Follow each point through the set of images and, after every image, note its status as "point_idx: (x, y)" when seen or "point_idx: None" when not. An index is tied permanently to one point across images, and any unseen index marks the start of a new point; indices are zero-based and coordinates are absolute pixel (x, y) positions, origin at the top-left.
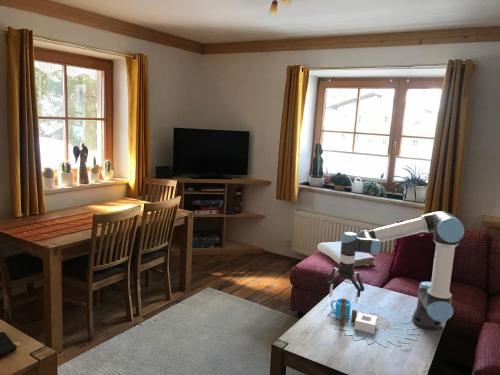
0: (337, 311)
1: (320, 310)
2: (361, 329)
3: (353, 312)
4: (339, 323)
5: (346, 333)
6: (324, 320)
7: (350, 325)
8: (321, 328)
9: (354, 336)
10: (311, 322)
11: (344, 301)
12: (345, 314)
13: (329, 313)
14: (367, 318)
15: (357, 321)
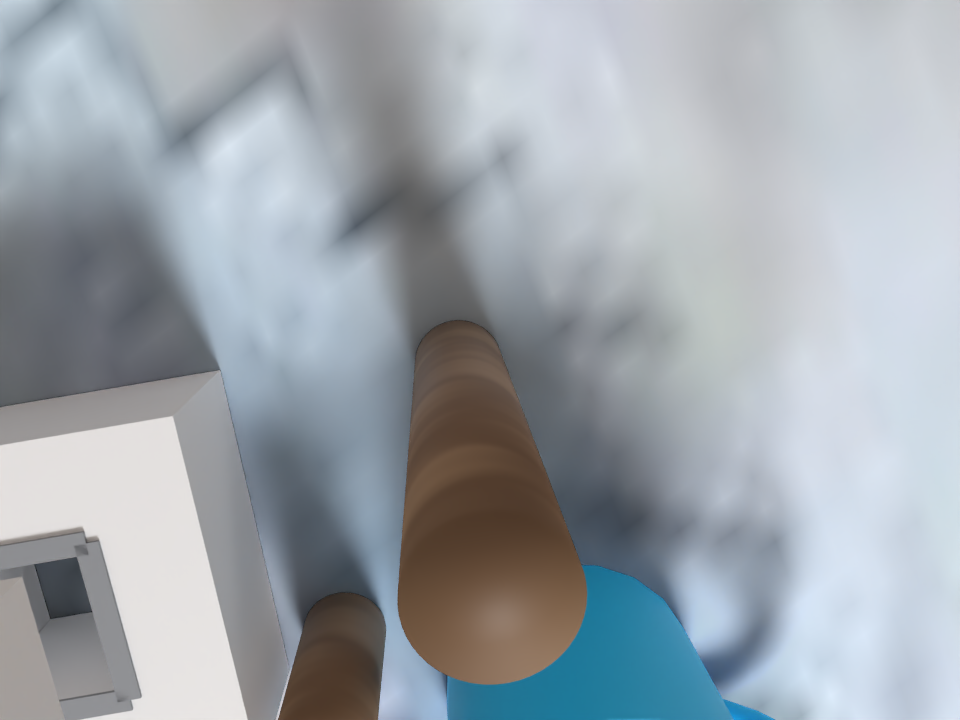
0: (652, 627)
1: (943, 606)
2: (92, 396)
3: (328, 688)
4: (496, 344)
5: (278, 135)
6: (771, 327)
7: (328, 446)
8: (722, 17)
9: (119, 124)
10: (951, 110)
11: (435, 507)
12: None
13: (777, 605)
14: None
15: (129, 419)
